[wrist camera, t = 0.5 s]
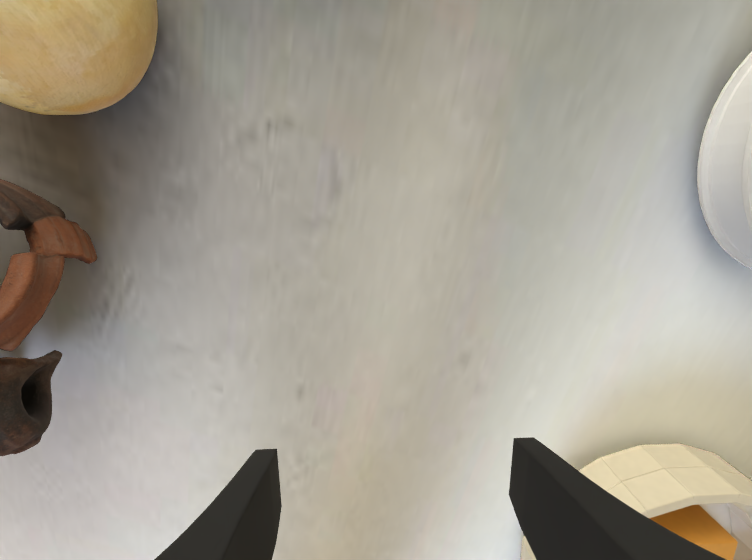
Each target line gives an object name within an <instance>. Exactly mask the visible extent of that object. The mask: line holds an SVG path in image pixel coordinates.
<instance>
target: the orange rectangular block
mask: <svg viewBox="0 0 752 560" xmlns="http://www.w3.org/2000/svg"><path fill="white" fill-rule="evenodd" d="M649 519H651V520H653V521H654V522H656V523H658V524H660V525H661V526H663V527H665V528H666V529H668V530H670V531H672V532H673V533H675V534H677V535H679V536H681V537H683V538H685V539H686V540H688V541H690V542H692V543H694V544H696V545H698V546H700V547H702V548H704V549H706V550H708V551H710V552H712V553H714V554H716V555H718V556H720V557H722V558H724V559H726V560H733V558H734V555H735V551H736V548H737V544H738V542H737V540H736V539H735V538H733V537H732V536H731V535H730V534H729V533H728V532H727V531H726V530H725V529H724V528H723V527H722V526H721V525H720V524H719V523H718V522H717V521H716V520H715V519H714V518H712V517H711V516H710V515H709V514H708V513H707V512H706V511H705V510H704V509H703V508H702V507H701V506H700V505H691V506H688V507H685V508H682V509H678V510H675V511H672V512H669V513H665V514H662V515H659V516H655V517H652V518H649Z"/></svg>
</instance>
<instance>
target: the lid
mask: <svg viewBox="0 0 752 560" xmlns="http://www.w3.org/2000/svg"><path fill="white" fill-rule="evenodd" d="M697 187H698V194H699V201H700V206H701V209H702V212H703V216H704V219H705V221H706V223H707V226H708V228H709V230H710V232H711V234H712V235H713V237H714V238H715V239H716V241H717V242H718V244H719V245H720V246H721V247H722V248H723V249H724V250H725V251H726V252H727V253H728V254H729V255H730V256H731V257H732V258H733V259H735V260H736V261H738V262H739V263H741V264H742V265H744V266H746V267H748V268H751V269H752V52H751V53H750V54H749V55H748V56H747V57H746V58H745V59H744V61H743V62H742V63H741V64H740V65H739V67H738V68H737V69H736V70H735V72H734V73H733V75H732V76H731V78H730V79H729V81H728V82H727V84H726V85H725V87H724V88H723V90H722V91H721V93H720V95H719V97H718V99H717V101H716V103H715V105H714V107H713V109H712V111H711V114H710V117H709V119H708V122H707V125H706V127H705V130H704V134H703V138H702V142H701V146H700V151H699V159H698V167H697Z"/></svg>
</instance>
